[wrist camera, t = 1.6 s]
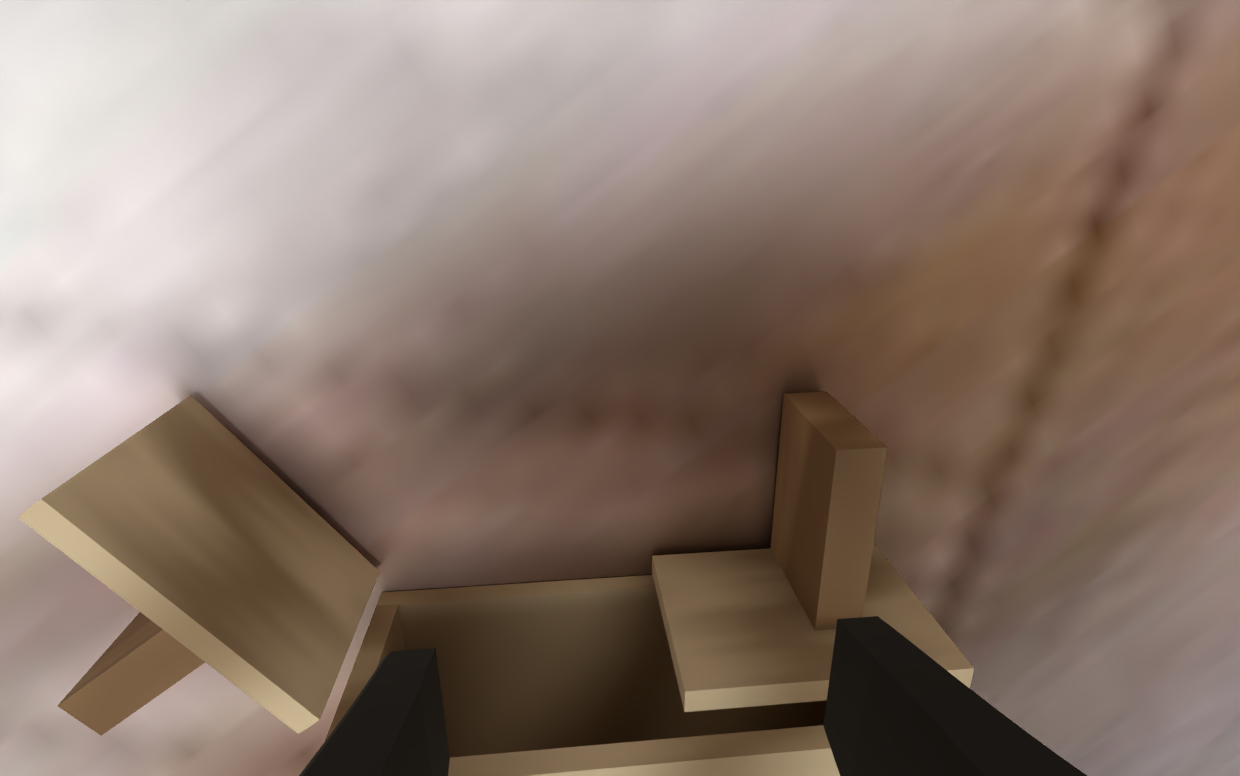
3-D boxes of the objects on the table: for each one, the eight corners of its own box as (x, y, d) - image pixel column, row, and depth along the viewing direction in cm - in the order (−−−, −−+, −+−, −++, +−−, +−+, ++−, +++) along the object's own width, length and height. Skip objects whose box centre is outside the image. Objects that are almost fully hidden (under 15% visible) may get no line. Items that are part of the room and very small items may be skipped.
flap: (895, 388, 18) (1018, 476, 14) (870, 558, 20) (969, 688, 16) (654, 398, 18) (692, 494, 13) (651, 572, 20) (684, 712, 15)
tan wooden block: (35, 516, 17) (-167, 662, 12) (190, 395, 17) (40, 498, 12) (235, 672, 20) (130, 846, 15) (379, 571, 19) (319, 719, 14)
